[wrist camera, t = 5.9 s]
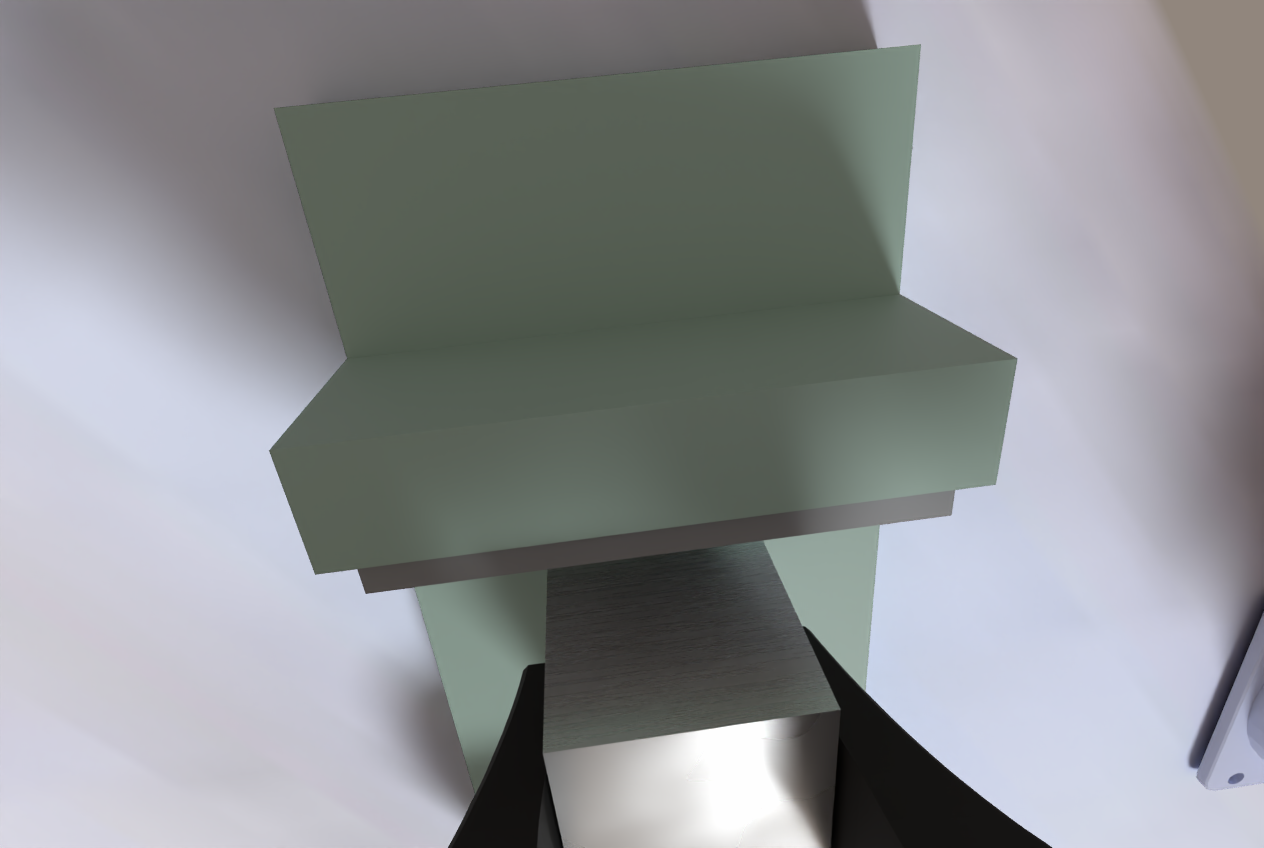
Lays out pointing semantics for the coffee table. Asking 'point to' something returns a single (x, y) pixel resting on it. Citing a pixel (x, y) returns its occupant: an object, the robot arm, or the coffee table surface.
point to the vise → (625, 346)
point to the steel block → (685, 706)
